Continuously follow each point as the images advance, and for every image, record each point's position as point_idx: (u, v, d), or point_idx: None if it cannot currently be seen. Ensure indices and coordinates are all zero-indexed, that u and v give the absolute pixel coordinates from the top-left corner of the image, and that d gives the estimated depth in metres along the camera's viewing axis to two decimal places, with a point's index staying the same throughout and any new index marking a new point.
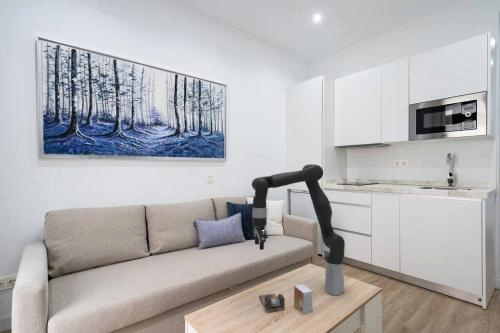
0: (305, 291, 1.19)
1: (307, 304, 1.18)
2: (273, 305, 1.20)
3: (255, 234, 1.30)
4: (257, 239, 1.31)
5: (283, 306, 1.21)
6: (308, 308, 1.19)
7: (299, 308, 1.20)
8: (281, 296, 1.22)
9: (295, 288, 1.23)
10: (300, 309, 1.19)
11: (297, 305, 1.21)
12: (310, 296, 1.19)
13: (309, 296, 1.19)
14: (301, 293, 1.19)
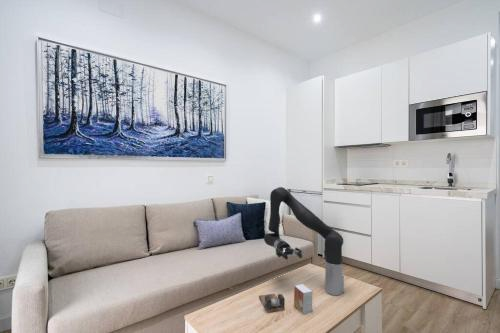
0: (305, 291, 1.19)
1: (307, 304, 1.18)
2: (273, 305, 1.20)
3: (294, 254, 1.39)
4: (298, 254, 1.36)
5: (283, 306, 1.21)
6: (308, 308, 1.19)
7: (299, 308, 1.20)
8: (281, 296, 1.22)
9: (295, 288, 1.23)
10: (300, 309, 1.19)
11: (297, 305, 1.21)
12: (310, 296, 1.19)
13: (309, 296, 1.19)
14: (301, 293, 1.19)
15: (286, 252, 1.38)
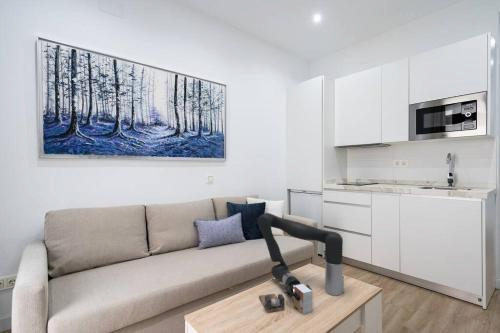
0: (305, 291, 1.19)
1: (307, 304, 1.18)
2: (273, 305, 1.20)
3: None
4: None
5: (283, 306, 1.21)
6: (308, 308, 1.18)
7: (299, 308, 1.20)
8: (281, 296, 1.22)
9: (295, 288, 1.23)
10: (300, 309, 1.19)
11: (297, 305, 1.21)
12: (310, 296, 1.19)
13: (309, 296, 1.19)
14: (301, 293, 1.19)
15: None
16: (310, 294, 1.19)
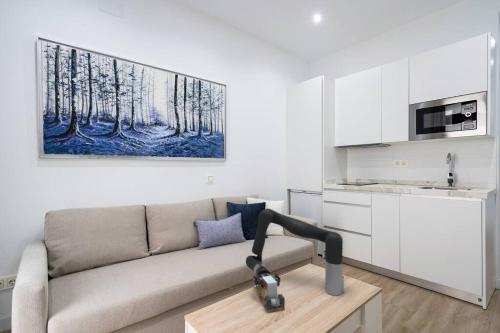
0: (270, 282, 1.25)
1: (272, 294, 1.25)
2: (273, 305, 1.20)
3: None
4: None
5: (283, 306, 1.21)
6: (273, 298, 1.25)
7: None
8: (281, 296, 1.22)
9: (262, 279, 1.30)
10: None
11: (264, 295, 1.28)
12: (275, 287, 1.25)
13: (274, 287, 1.25)
14: (266, 283, 1.25)
15: None
16: (275, 285, 1.25)
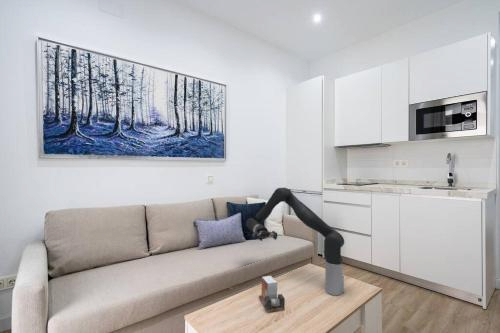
0: (270, 282, 1.25)
1: (272, 294, 1.25)
2: (273, 305, 1.20)
3: (270, 237, 1.46)
4: (273, 236, 1.43)
5: (283, 306, 1.21)
6: (273, 298, 1.25)
7: None
8: (281, 296, 1.22)
9: (262, 279, 1.30)
10: None
11: (264, 295, 1.28)
12: (275, 287, 1.25)
13: (274, 287, 1.25)
14: (266, 283, 1.25)
15: (262, 235, 1.45)
16: (275, 285, 1.25)
